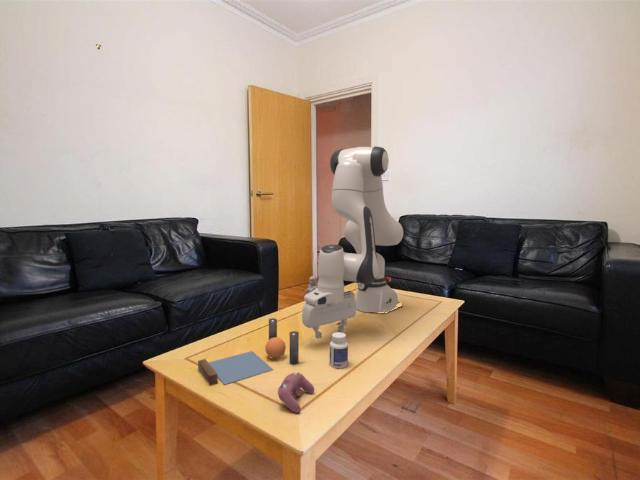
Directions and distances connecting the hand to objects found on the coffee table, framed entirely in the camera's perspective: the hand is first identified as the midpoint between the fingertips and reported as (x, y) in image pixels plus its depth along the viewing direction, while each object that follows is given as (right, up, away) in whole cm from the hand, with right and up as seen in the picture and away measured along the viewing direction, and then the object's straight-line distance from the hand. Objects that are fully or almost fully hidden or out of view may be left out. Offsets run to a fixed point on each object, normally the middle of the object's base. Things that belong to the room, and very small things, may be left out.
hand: (329, 334), depth 115 cm
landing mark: (-26, -4, -18) cm, 32 cm away
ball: (-17, -1, -12) cm, 21 cm away
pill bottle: (+2, -4, -16) cm, 17 cm away
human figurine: (-6, 0, +18) cm, 19 cm away
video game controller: (-9, -7, -34) cm, 36 cm away
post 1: (-18, -3, -5) cm, 19 cm away
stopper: (-33, -5, -23) cm, 41 cm away
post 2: (-11, -4, -15) cm, 19 cm away
